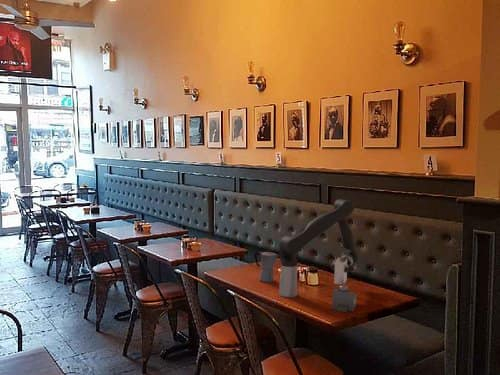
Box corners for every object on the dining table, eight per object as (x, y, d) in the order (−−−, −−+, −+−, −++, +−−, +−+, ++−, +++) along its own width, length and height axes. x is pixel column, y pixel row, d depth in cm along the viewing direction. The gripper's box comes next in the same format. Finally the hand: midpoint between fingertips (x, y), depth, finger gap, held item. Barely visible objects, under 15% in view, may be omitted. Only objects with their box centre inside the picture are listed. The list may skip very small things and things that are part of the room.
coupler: (331, 310, 240) (332, 286, 240) (336, 303, 252) (337, 280, 251) (352, 312, 237) (352, 288, 236) (355, 305, 248) (356, 282, 248)
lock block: (334, 283, 253) (334, 261, 252) (337, 278, 262) (338, 257, 261) (343, 284, 251) (344, 262, 250) (346, 279, 260) (347, 258, 259)
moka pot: (277, 283, 290) (277, 251, 288) (252, 282, 292) (253, 250, 291) (278, 279, 299) (279, 248, 298) (254, 278, 302) (255, 247, 300)
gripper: (333, 255, 271) (327, 262, 256) (358, 257, 266) (353, 264, 251) (332, 268, 272) (326, 275, 256) (357, 270, 267) (353, 278, 251)
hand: (340, 270), depth 253 cm, fingers closed on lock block, 5 cm apart
